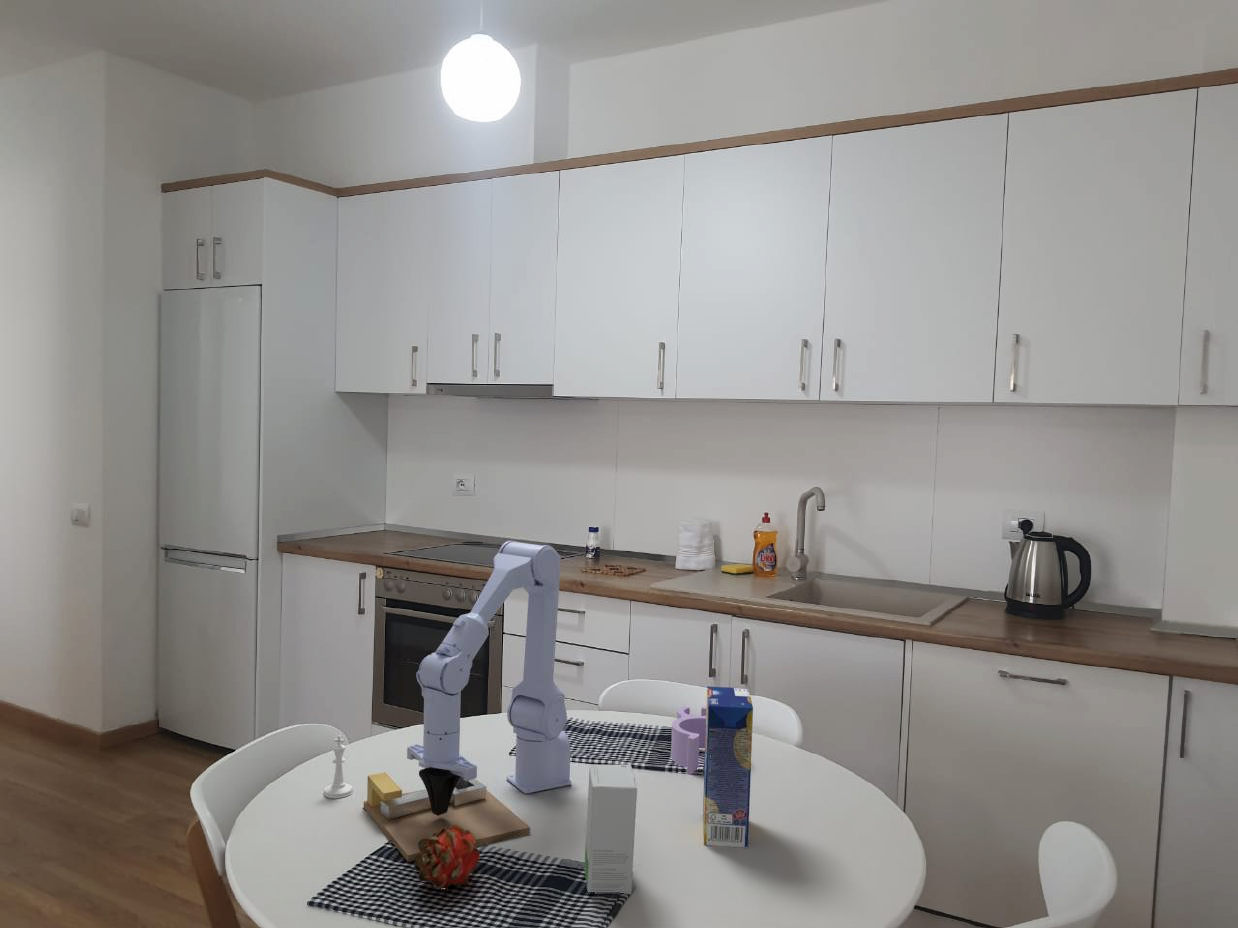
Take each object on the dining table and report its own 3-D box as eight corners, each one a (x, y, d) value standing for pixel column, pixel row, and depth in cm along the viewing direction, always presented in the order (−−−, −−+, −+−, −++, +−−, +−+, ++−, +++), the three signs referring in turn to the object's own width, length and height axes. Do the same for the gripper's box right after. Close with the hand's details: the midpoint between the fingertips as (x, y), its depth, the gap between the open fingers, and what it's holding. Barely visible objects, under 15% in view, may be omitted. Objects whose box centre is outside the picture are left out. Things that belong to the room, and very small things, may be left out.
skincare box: (584, 867, 136) (587, 762, 135) (629, 866, 136) (632, 762, 135) (587, 896, 127) (590, 785, 127) (634, 895, 128) (638, 785, 127)
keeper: (384, 797, 156) (385, 772, 156) (401, 816, 149) (402, 789, 148) (367, 801, 154) (367, 775, 154) (383, 820, 147) (383, 793, 147)
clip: (664, 738, 193) (665, 705, 193) (723, 739, 194) (724, 706, 194) (675, 774, 173) (676, 738, 173) (741, 775, 174) (742, 739, 174)
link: (468, 786, 161) (468, 775, 161) (486, 797, 157) (486, 786, 156) (376, 809, 151) (376, 797, 150) (392, 822, 146) (393, 810, 146)
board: (474, 785, 165) (475, 757, 165) (530, 833, 146) (531, 802, 146) (363, 807, 154) (364, 777, 154) (407, 861, 136) (408, 828, 135)
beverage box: (743, 817, 154) (748, 688, 154) (748, 847, 143) (753, 708, 143) (702, 815, 155) (707, 686, 154) (703, 844, 144) (708, 705, 143)
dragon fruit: (422, 915, 124) (456, 886, 136) (473, 884, 123) (503, 857, 135) (392, 858, 126) (428, 833, 137) (442, 826, 125) (474, 804, 136)
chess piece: (344, 799, 157) (345, 741, 157) (317, 796, 158) (319, 738, 158) (358, 788, 162) (359, 732, 161) (332, 785, 163) (333, 729, 162)
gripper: (392, 724, 149) (391, 807, 149) (453, 746, 140) (451, 834, 140) (426, 714, 154) (425, 794, 155) (487, 734, 145) (485, 819, 146)
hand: (440, 812), depth 148 cm, fingers closed
